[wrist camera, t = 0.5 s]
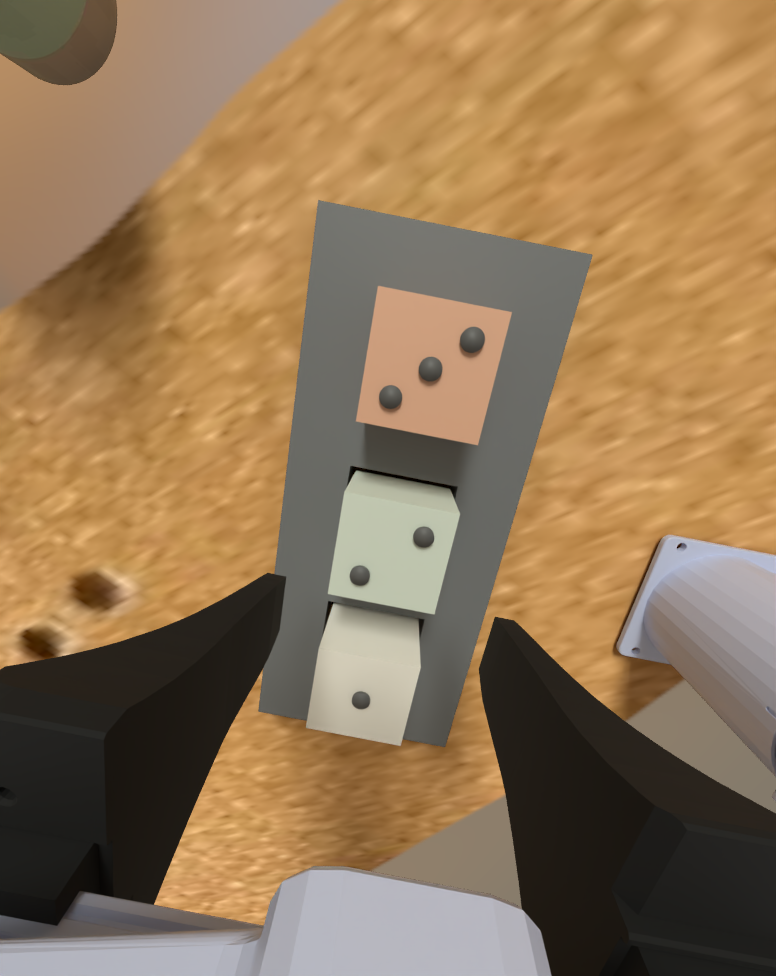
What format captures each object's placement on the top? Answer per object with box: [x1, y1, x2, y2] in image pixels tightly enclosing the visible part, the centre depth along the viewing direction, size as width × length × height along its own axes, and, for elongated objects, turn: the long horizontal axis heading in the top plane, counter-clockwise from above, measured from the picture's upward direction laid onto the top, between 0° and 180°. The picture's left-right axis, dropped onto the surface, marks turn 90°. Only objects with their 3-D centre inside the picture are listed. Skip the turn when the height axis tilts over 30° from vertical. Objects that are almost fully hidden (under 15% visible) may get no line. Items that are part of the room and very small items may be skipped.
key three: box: [356, 286, 512, 445], centre depth 16 cm, size 5×5×4 cm
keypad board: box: [259, 200, 592, 747], centre depth 21 cm, size 12×28×2 cm, turn 169°
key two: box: [328, 470, 460, 614], centre depth 19 cm, size 5×5×4 cm
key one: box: [306, 602, 421, 746], centre depth 21 cm, size 5×5×4 cm
